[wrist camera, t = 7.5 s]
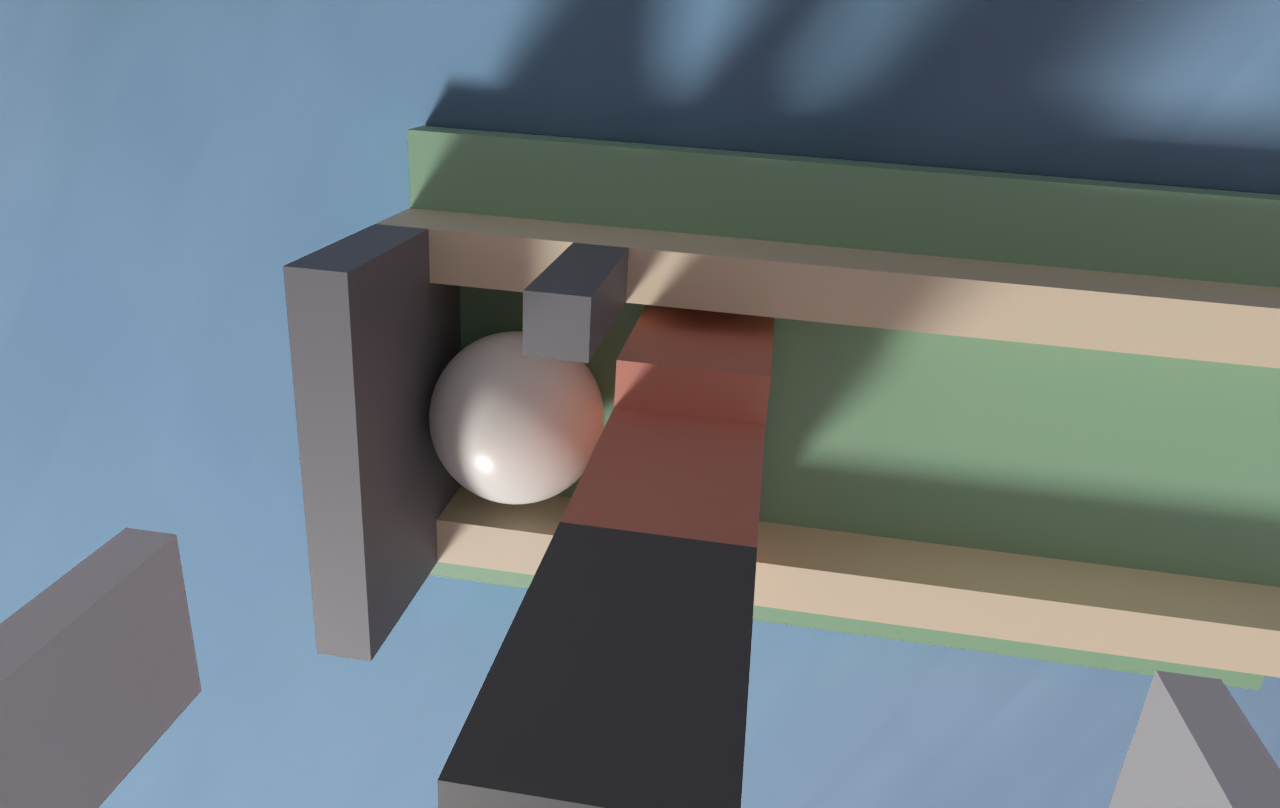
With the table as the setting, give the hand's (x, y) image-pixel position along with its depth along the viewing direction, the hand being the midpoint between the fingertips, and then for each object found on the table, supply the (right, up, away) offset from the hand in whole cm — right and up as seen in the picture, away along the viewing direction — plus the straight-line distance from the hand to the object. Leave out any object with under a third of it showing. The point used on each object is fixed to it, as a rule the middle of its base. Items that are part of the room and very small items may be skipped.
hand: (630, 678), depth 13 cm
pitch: (+5, +4, +11) cm, 12 cm away
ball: (-3, +3, +9) cm, 10 cm away
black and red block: (+2, +4, +10) cm, 11 cm away
